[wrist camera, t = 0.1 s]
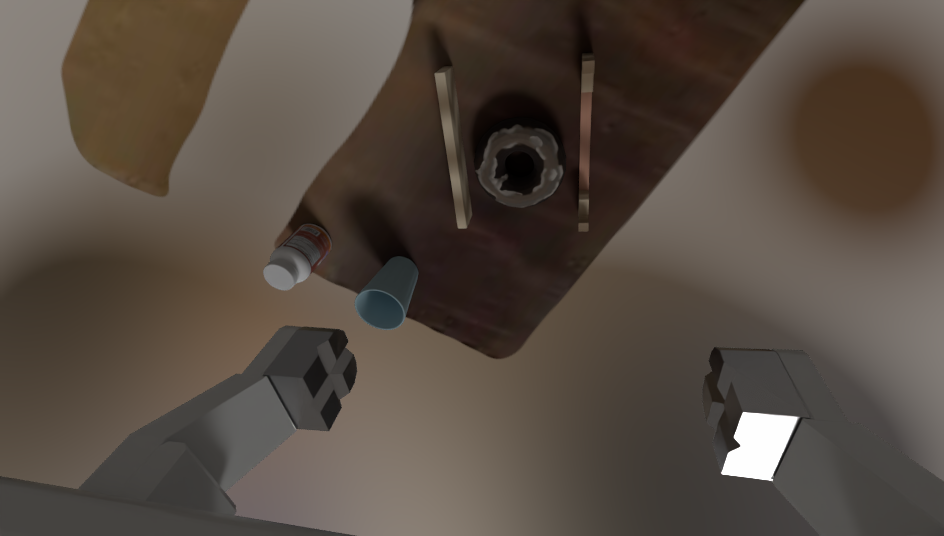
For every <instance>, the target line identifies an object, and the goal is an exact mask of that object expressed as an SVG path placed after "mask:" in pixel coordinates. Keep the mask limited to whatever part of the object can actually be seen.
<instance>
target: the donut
mask: <svg viewBox="0 0 944 536" xmlns="http://www.w3.org/2000/svg"><path fill="white" fill-rule="evenodd" d="M516 151H521V152H525V153H527V154H528V155H530V156H531V158H532V159H533V162H534V168H533V170H532V172H531V173H530V174H529V175H527V176H524V177H516V176H514V175H512V174H510V173H509V172H508V171H507V169H506V166H505V160H506V158H507V156H508V155H509V154H511V153H513V152H516ZM474 165H475V174H476V176H477V178H478V181H479V183H480V185H481V187H482V188H483V189H484V190H485V192H486V193H487V194H488V195H489V196H491V197H492V198H493V199H495V200H496V201H497V202H500V203H502V204H505V205H507V206H512V207H520V208H521V207H528V206H534V205H536V204H538V203H541V202H543V201H545V200H546V199H547V198H549V197H550V196H551V195H552V194H554V193H555V191H556V190H557V188H558V187H559V185H560V184H561V182H562V180H563V177H564V174H565V171H566V155H565V152H564V148H563V145H562V142H561V141H560V140H559V138H558V137H557V135H556V134H555V132H554V131H553V130H551V129H550V128H549V127H548V126H546V125H545V124H544V123H541V122H539V121H537V120H534V119H532V118H522V117H516V118H511V119H506V120H503V121H501V122H500V123H498V124H496V125H494V126H492V127H491V128H490V129H489V130H488V131H487V132H486V133H485V134H484V135H483V136H482V138H481V140H480V142H479V144H478V146H477V148H476V154H475V159H474Z"/></svg>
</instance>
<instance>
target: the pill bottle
mask: <svg viewBox="0 0 944 536" xmlns="http://www.w3.org/2000/svg"><path fill="white" fill-rule="evenodd" d="M331 246H332V242H331V239H330V237H329V235H328V234H327V232H326V231H325V230H324V229H322V228H321V227H319V226H317V225H314V224H304V225H301V226H300V227H299V228H297V229H296V230H295V231H294V232H293V233H292V234H291V235H290V236H289V237H288V238H287V239H286V240H285V241H284V242H283V243H282V244H281V245H280V246H279V247H278V248H277V249H276V250H275V251H274V252H273V253H272V255H271V257H270V262H269V264H268V265H267V266H266V267H265V268H264V271H263V273H264V277H265V279H266V281H267V282H268V283H269V284H270V285H271V286H273V287H275V288H277V289H280V290H289V289H291V288H292V287H293V286H294V285H295V284H296V283H299V282H302V281H304V280H305V279H307V278H308V277H309V275H310V274H311V273H312V272H313V271H314V269H315V268H316V267H317V266H318V265H319V264H320V262H321V261H322V260H323V259H324V258H325V256H326V255H327V254H328V253H329V251H330V250H331Z"/></svg>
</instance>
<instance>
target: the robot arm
mask: <svg viewBox="0 0 944 536" xmlns="http://www.w3.org/2000/svg"><path fill="white" fill-rule="evenodd" d="M347 343H348V339H347V337H346V335H345V332H344V331H343V330H340V329H330V328H316V327H296V326H284V327H282V328H280V329H279V330H278V331H277V332H276V333H275V334H274V336H273V337H272V338H271V339H270V340H269V342H268V343H267V344H266V345H265V347H264V348H263V349H262V350H261V351H260V353H259V354H258V355H257V356H256V357H255V359H254V360H253V361H252V362H251V364H250V365H249V366H248V367H247V368H246V370H245V371H244V372H243V373H242V374H235V375H233V376H231V377H230V378H228V379H226V380H224V381H223V382H221V383H219V384H217V385H216V386H214V387H212V388H210V389H209V390H207V391H205V392H203V393H202V394H200V395H198V396H197V397H195V398H193V399H191V400H189V401H188V402H186V403H184V404H182V405H181V406H179V407H177V408H175V409H174V410H172V411H170V412H168V413H167V414H165V415H163V416H161V417H160V418H158V419H156V420H154V421H152V422H151V423H149V424H148V425H145V426H144V427H142V428H140V429H138V430H137V431H135V432H133V433H131V434H130V435H129V436H128V437H127V438H126V439H125V440H124V441H123V442H122V444H121V445H119V446H118V448H117V449H116V450H115V451H114V452H113V453H112V454H111V455H110V456H109V457H108V458H107V459H106V460H105V461H104V462H103V463H102V464H101V465H100V466H99V468H98V469H97V470H96V471H95V472H94V473H93V474H92V475H91V476H90V477H89V478H88V479H87V480H86V481H85V482H84V483H83V484H82V485H81V486H80V487H79V489H73V488H67V487H61V486H55V485H49V484H43V483H37V482H31V481H25V480H20V479H14V478H8V477H2V476H0V536H355V535H349V534H342V533H336V532H331V531H325V530H319V529H312V528H306V527H300V526H295V525H289V524H283V523H277V522H271V521H264V520H259V519H252V518H246V517H240V516H235V515H234V514H235V513H236V505H235V504H234V503H233V502H232V500H231V499H230V498H229V497H228V495H227V494H226V493H225V492H226V491H227V490H228V489H229V488H230V487H232V486H233V485H234V484H235V483H236V482H237V481H238V480H240V479H241V478H242V477H243V476H244V475H246V474H247V473H248V472H249V471H250V470H251V469H253V468H254V467H255V466H256V465H257V464H258V463H260V462H261V461H262V460H263V459H264V458H265V457H267V456H268V455H269V454H270V453H271V452H272V451H274V450H275V449H276V448H277V447H278V446H279V445H281V444H282V443H283V442H284V441H285V440H286V439H288V438H289V437H290V436H291V435H292V434H293V433H295V432H296V429H307V430H320V431H329V430H330V428H331V427H332V425H333V423H334V421H335V419H336V417H337V415H338V413H339V412H340V410H341V408H342V407H341V402H340V399H341V398H342V397H344V396H345V395H347V394H348V393H350V390H351V389H352V387H353V385H354V383H355V378H356V373H357V366H356V360H355V357H354V354H352V353H351V352H350V351H349V350H348V349H347V348H345V347H346V345H347ZM709 363H710V366H711V369H712V372H710V373H709V374H707V375H706V376H705V378H704V383H703V388H702V403H703V409H704V414H705V418H706V421H707V423H708V424H709V425H710V426H711V427H712V428H713V429H714V430H715V431H716V432H715V435H714V439H713V442H712V443H713V446H714V449H715V453H716V457H717V460H718V463H719V467H720V470H721V473H722V474H727V475H734V476H742V477H749V478H757V479H764V480H772V484H773V485H774V486H775V487H776V488H777V489H778V490H779V491H780V492H781V493H782V494H783V496H784V497H785V498H786V499H787V500H788V501H789V502H790V503H791V504H792V505H793V506H794V507H795V509H796V510H797V511H798V512H799V513H800V514H801V515H802V516H803V517H804V518H805V519H806V521H807V522H808V523H809V524H810V525H811V526H812V527H813V528H814V529H815V530H816V531H817V533H818V534H819V535H820V536H944V481H942V480H941V479H939V478H938V477H936V476H935V475H934V474H932V473H931V472H929V471H928V470H926V469H925V468H923V467H922V466H920V465H919V464H918V463H916V462H915V461H913V460H912V459H910V458H909V457H907V456H906V455H904V454H903V453H902V452H900V451H898V450H897V449H896V448H894V447H893V446H891V445H890V444H889V443H887V442H885V441H884V440H883V439H881V438H880V437H878V436H877V435H875V434H874V433H873V432H871V431H870V430H868V429H867V428H865V427H864V426H862V425H861V424H859V423H851V422H848V420H847V418H846V417H845V415H844V413H843V412H842V410H841V408H840V407H839V405H838V403H837V402H836V400H835V398H834V397H833V395H832V393H831V392H830V390H829V388H828V387H827V385H826V384H825V382H824V380H823V379H822V377H821V375H820V374H819V372H818V370H817V369H816V367H815V365H814V364H813V362H812V360H811V359H810V357H809V355H808V354H807V353H805V352H804V351H803V350H782V349H772V350H770V349H751V348H725V347H714V349H713V350H712V352H711V355H710V358H709Z"/></svg>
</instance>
